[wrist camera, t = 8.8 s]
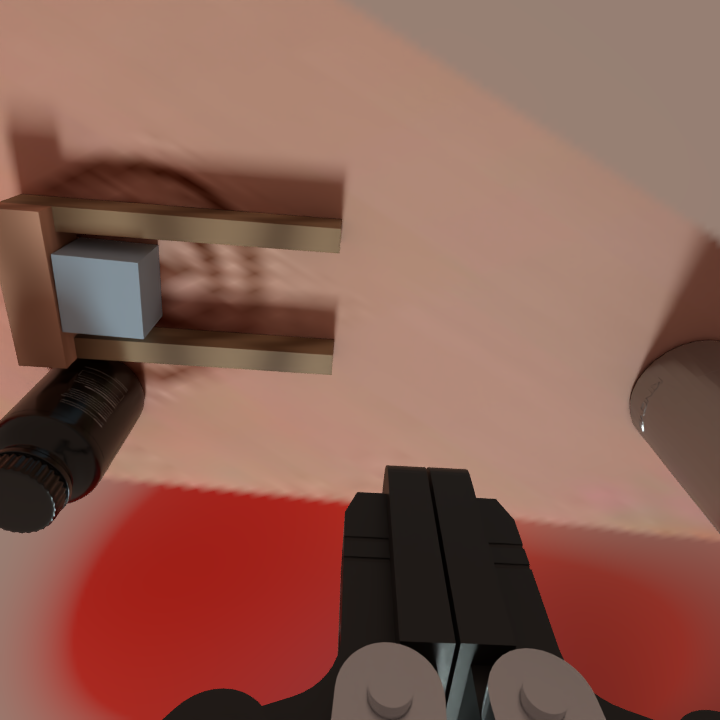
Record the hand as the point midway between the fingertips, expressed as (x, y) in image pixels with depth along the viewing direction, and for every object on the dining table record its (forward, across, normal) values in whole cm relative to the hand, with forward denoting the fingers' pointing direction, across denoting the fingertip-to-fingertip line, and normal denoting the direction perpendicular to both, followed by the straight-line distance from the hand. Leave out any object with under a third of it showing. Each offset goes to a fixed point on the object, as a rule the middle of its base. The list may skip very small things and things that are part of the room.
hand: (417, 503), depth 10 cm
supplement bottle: (+28, +19, +15) cm, 37 cm away
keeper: (+28, +17, +6) cm, 33 cm away
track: (+27, +12, +6) cm, 31 cm away
